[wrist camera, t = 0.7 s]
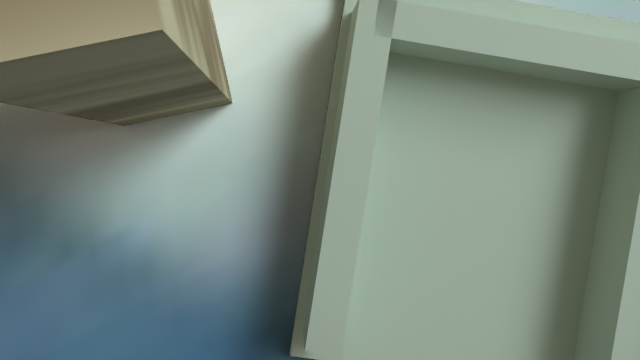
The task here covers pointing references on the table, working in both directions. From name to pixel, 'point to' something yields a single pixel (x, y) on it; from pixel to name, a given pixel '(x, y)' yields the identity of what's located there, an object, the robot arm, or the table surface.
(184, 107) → the post
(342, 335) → the tray
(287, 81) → the table surface
